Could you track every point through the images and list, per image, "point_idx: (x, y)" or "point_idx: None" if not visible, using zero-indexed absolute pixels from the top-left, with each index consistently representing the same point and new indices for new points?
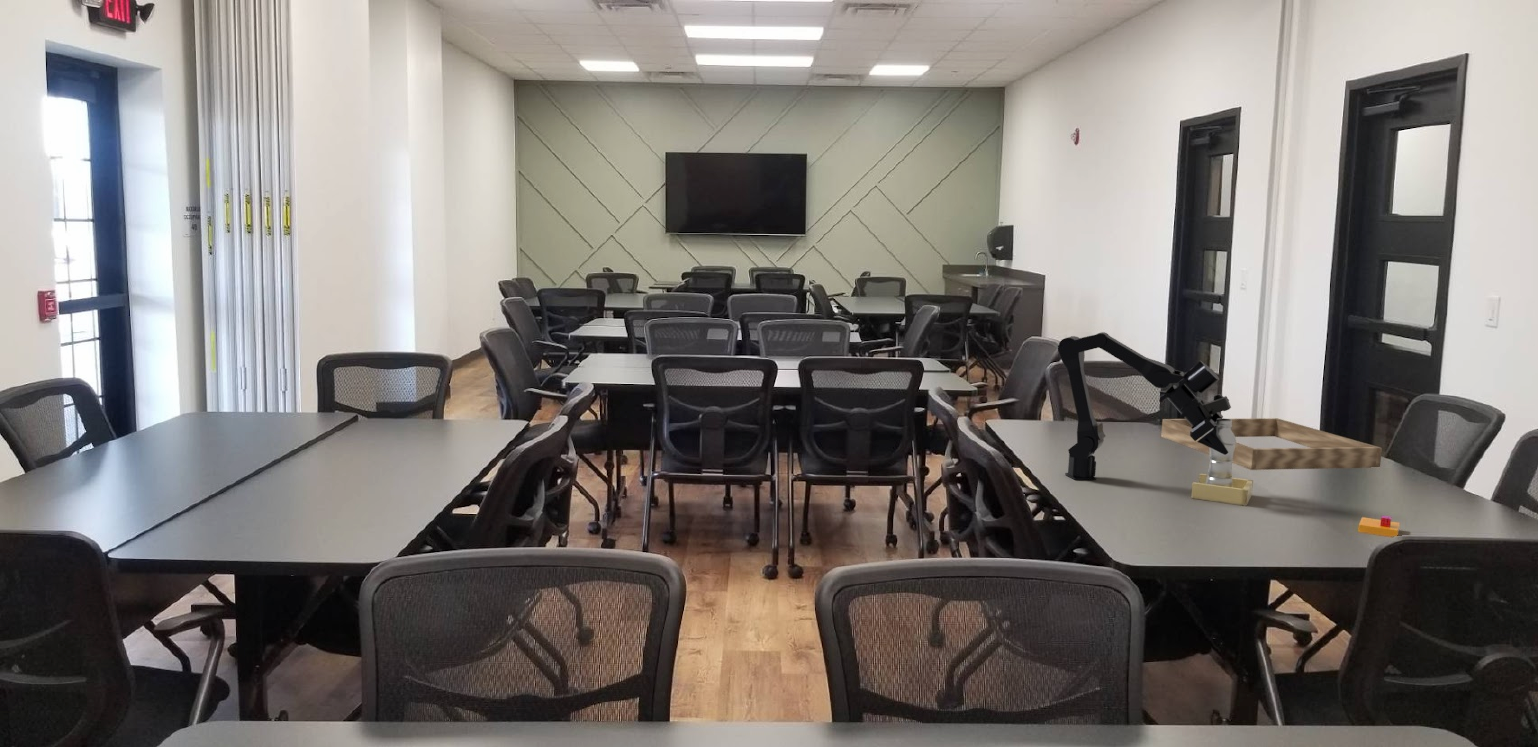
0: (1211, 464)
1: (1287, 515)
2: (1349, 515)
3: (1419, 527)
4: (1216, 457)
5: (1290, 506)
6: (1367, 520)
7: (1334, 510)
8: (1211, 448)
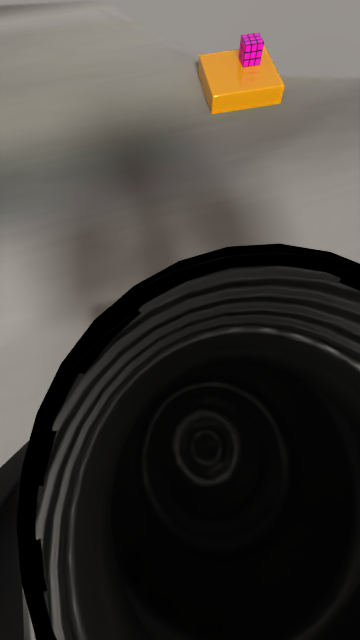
0: (267, 500)
1: (272, 219)
2: (147, 143)
3: (146, 61)
4: (295, 466)
5: (162, 243)
6: (234, 84)
7: (122, 171)
8: (318, 544)
